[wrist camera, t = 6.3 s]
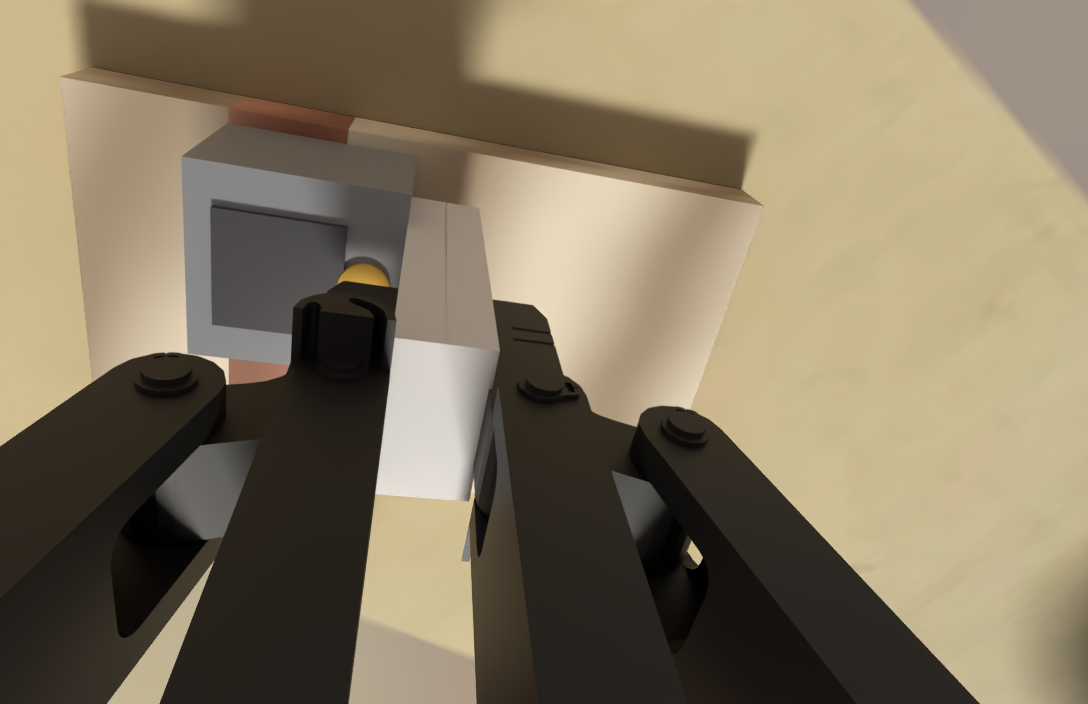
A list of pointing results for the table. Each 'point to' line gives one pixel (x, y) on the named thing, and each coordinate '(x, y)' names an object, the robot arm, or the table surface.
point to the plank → (441, 175)
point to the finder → (283, 232)
